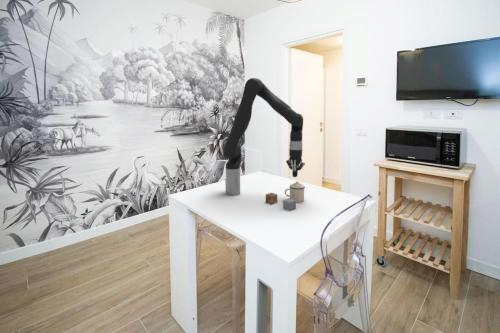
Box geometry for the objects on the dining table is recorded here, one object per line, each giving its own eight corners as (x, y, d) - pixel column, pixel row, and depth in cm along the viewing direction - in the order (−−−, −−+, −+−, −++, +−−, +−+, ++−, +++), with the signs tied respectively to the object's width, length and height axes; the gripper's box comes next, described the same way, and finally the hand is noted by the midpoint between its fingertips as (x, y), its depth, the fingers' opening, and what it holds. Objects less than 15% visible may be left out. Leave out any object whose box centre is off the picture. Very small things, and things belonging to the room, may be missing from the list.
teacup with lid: (302, 197, 171) (302, 179, 168) (305, 202, 162) (306, 183, 160) (283, 197, 171) (283, 179, 168) (285, 202, 162) (286, 184, 159)
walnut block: (265, 202, 163) (265, 194, 162) (271, 200, 166) (271, 192, 165) (271, 204, 160) (271, 196, 158) (277, 202, 163) (277, 194, 162)
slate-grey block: (283, 208, 153) (283, 200, 152) (288, 206, 156) (289, 198, 155) (289, 211, 149) (290, 202, 148) (295, 208, 153) (295, 200, 152)
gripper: (283, 147, 162) (282, 175, 165) (300, 150, 152) (299, 180, 156) (291, 146, 166) (290, 173, 170) (308, 148, 157) (307, 177, 161)
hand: (294, 176), depth 163 cm, fingers closed
